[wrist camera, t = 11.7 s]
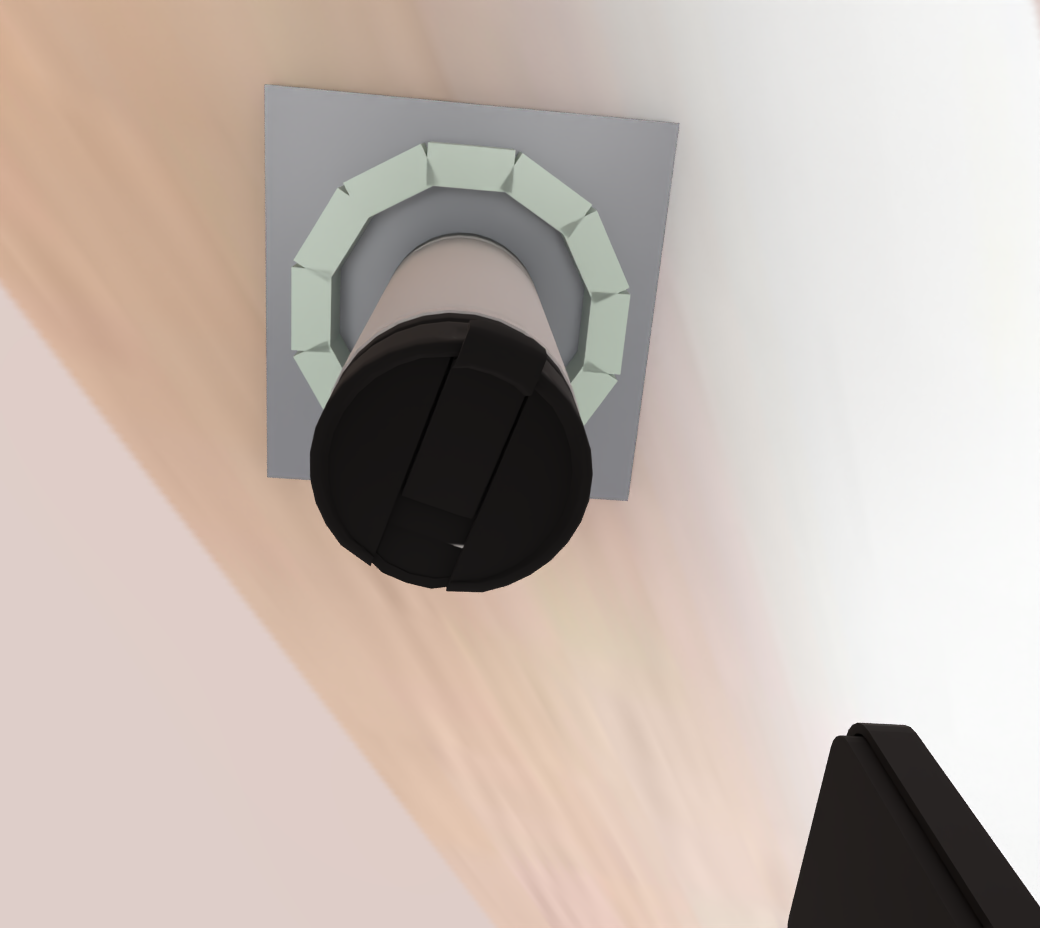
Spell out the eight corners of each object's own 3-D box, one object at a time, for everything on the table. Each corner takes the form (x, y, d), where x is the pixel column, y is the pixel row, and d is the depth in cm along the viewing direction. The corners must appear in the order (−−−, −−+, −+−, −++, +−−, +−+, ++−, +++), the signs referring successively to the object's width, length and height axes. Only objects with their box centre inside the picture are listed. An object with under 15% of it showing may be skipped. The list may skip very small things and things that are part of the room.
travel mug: (564, 258, 38) (653, 390, 19) (504, 403, 40) (531, 653, 21) (419, 199, 37) (361, 277, 18) (365, 351, 39) (263, 565, 20)
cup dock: (270, 85, 36) (248, 81, 33) (674, 123, 37) (693, 123, 34) (272, 469, 41) (254, 498, 38) (624, 492, 42) (636, 523, 39)
